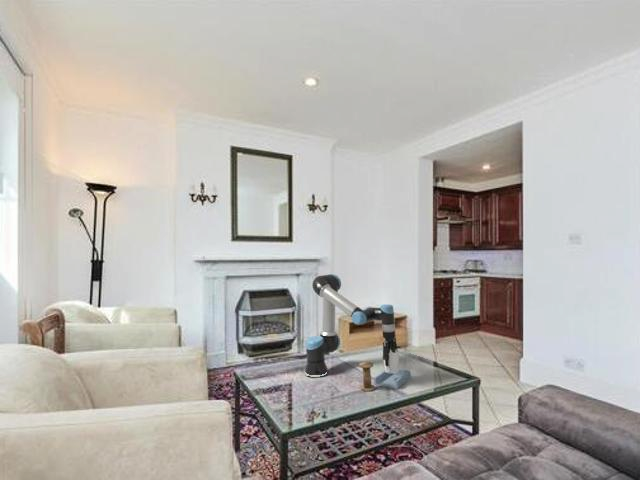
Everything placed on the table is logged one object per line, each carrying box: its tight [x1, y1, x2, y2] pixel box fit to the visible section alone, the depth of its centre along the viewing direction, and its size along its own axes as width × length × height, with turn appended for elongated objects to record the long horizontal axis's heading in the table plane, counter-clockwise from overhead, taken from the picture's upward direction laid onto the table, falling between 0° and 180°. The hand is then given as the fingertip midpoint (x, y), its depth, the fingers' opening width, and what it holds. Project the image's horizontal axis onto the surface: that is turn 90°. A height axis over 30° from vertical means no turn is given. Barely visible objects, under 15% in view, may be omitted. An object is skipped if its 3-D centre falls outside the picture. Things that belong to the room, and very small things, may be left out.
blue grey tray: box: [373, 368, 412, 390], centre depth 207 cm, size 14×20×4 cm
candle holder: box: [381, 348, 400, 373], centre depth 206 cm, size 10×10×12 cm
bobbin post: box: [358, 361, 376, 392], centre depth 198 cm, size 8×8×14 cm
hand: (391, 368), depth 206 cm, fingers closed on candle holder, 9 cm apart
